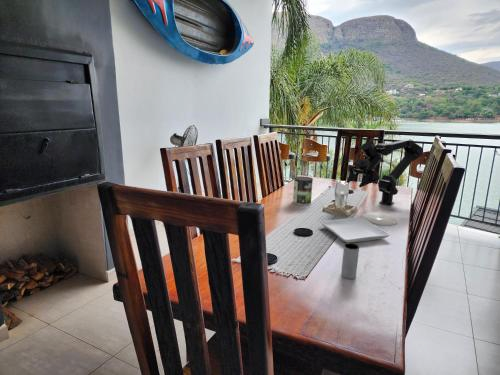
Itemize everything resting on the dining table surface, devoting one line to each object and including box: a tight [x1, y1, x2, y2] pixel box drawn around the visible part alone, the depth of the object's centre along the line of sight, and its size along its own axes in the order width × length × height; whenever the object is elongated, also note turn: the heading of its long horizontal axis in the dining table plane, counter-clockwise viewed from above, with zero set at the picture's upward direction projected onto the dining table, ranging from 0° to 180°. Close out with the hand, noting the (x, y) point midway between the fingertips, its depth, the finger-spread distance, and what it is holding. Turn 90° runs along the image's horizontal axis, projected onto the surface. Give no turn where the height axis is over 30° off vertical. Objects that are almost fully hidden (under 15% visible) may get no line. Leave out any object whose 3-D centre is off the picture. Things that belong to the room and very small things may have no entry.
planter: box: [340, 242, 360, 280], centre depth 99 cm, size 4×4×10 cm
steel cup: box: [333, 180, 350, 211], centre depth 162 cm, size 7×7×15 cm
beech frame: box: [322, 201, 358, 217], centre depth 164 cm, size 13×13×2 cm
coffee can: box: [292, 176, 314, 206], centre depth 175 cm, size 10×10×14 cm
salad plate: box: [320, 216, 391, 243], centre depth 134 cm, size 21×21×3 cm
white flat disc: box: [361, 212, 398, 226], centre depth 152 cm, size 16×16×1 cm
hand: (353, 184), depth 164 cm, fingers open, 9 cm apart
